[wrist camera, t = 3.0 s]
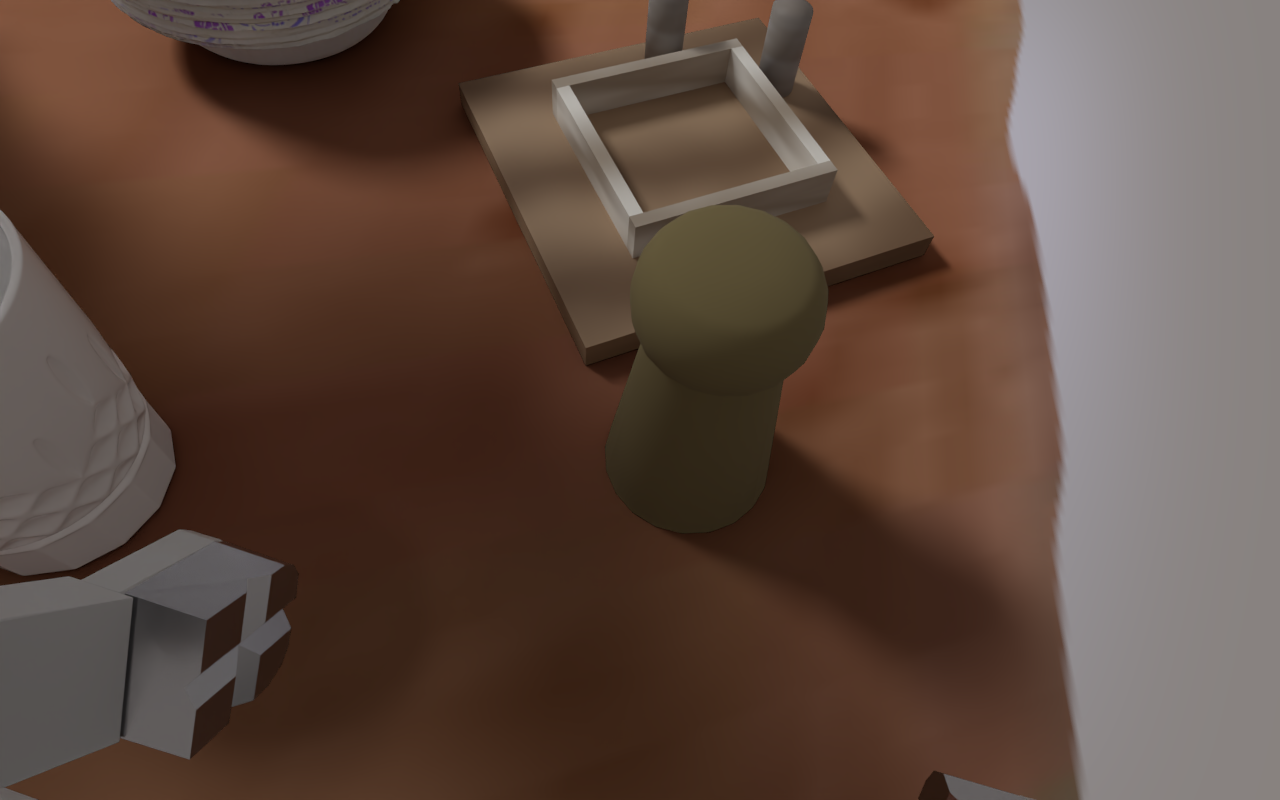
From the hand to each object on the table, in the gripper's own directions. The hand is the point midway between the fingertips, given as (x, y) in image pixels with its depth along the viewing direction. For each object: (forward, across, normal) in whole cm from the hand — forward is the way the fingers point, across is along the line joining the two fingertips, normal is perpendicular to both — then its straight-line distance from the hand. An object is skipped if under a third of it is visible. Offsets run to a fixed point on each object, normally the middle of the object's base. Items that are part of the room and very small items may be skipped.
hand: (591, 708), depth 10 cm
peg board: (+29, +4, -7) cm, 30 cm away
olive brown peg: (+19, 0, +3) cm, 19 cm away
